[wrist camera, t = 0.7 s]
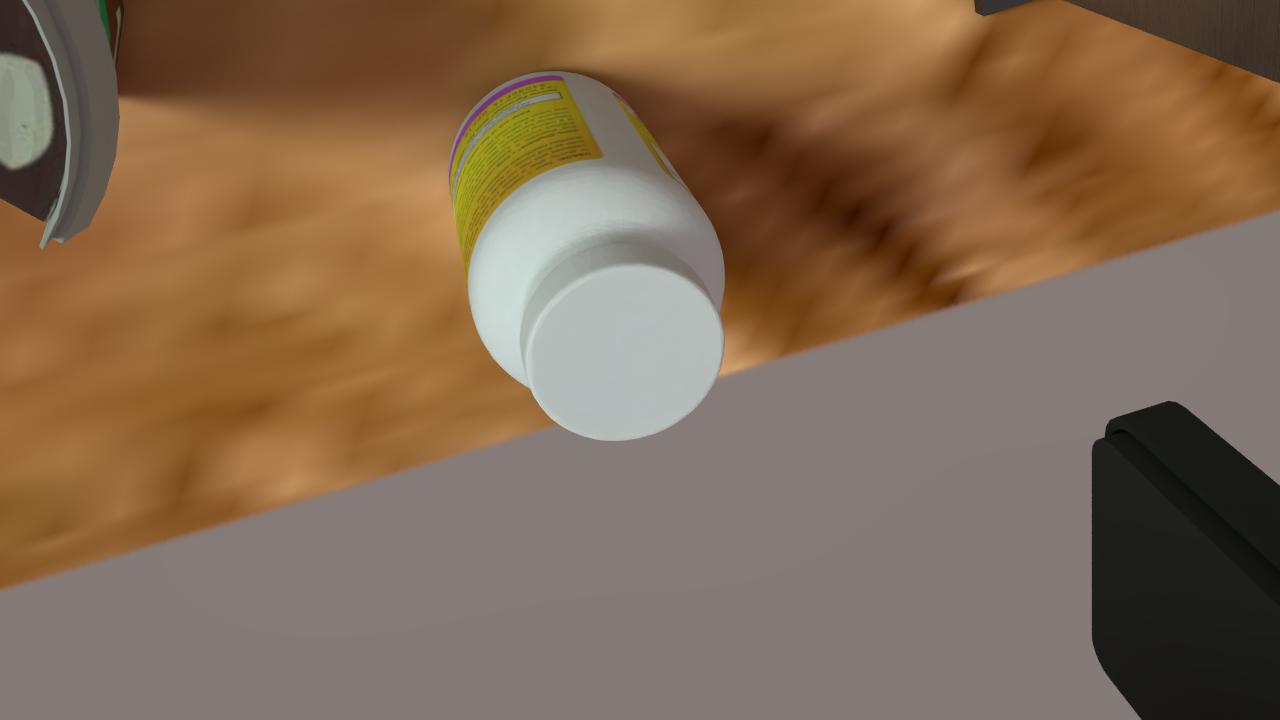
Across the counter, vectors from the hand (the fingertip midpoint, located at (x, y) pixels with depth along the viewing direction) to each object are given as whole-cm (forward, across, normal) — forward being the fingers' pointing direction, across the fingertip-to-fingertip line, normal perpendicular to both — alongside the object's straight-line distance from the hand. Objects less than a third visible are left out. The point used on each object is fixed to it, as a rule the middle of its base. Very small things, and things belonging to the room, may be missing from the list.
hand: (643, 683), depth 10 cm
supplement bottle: (+27, -1, +5) cm, 27 cm away
